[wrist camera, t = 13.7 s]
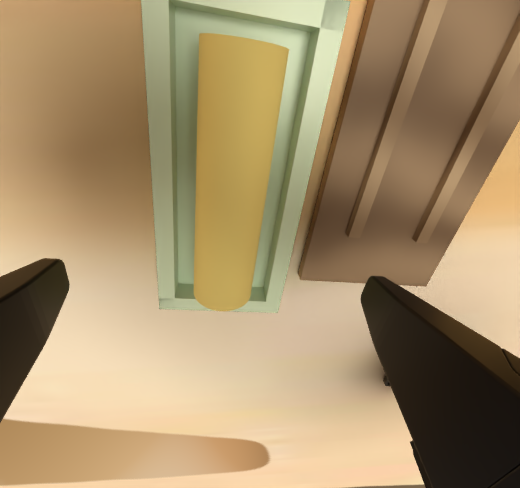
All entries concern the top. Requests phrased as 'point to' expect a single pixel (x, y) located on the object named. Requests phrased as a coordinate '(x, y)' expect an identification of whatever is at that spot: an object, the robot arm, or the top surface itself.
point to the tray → (185, 128)
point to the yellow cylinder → (233, 161)
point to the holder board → (414, 137)
